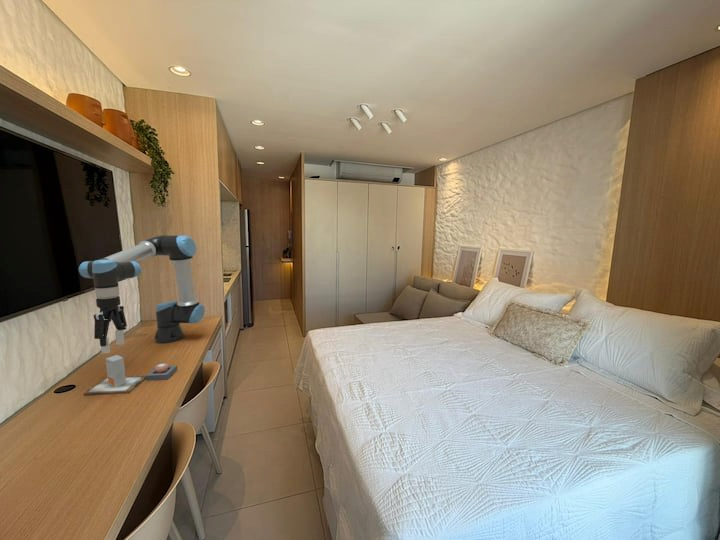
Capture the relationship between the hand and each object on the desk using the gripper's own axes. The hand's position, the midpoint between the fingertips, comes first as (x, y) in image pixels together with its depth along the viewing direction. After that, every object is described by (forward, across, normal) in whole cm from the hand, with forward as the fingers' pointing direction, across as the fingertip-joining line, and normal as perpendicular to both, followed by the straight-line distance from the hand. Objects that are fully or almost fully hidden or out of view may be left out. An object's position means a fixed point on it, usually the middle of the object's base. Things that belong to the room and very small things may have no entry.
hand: (113, 348), depth 122 cm
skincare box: (+16, 0, 0) cm, 16 cm away
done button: (+15, -8, +14) cm, 22 cm away
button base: (+17, -8, +14) cm, 24 cm away
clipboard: (+17, 0, 0) cm, 17 cm away
